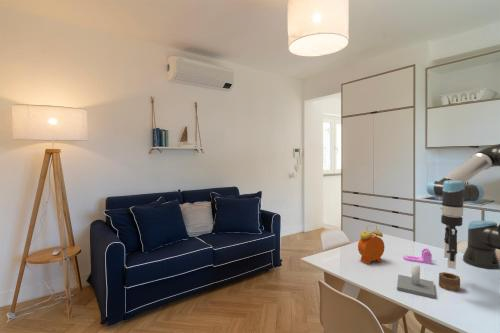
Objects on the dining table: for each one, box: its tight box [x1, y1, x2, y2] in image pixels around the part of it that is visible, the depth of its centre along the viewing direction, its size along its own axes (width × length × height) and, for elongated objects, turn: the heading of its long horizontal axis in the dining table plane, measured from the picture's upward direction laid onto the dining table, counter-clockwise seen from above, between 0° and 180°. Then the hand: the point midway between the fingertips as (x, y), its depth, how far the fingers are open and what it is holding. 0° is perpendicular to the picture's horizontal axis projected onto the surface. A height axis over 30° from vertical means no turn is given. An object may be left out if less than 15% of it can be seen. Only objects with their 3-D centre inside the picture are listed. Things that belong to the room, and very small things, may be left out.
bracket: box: [402, 247, 433, 265], centre depth 153 cm, size 13×6×7 cm, turn 66°
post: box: [396, 264, 437, 300], centre depth 122 cm, size 14×14×10 cm
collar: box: [438, 271, 461, 292], centre depth 123 cm, size 7×7×5 cm
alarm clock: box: [357, 224, 385, 265], centre depth 152 cm, size 13×6×20 cm, turn 108°
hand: (449, 262), depth 122 cm, fingers open, 13 cm apart
